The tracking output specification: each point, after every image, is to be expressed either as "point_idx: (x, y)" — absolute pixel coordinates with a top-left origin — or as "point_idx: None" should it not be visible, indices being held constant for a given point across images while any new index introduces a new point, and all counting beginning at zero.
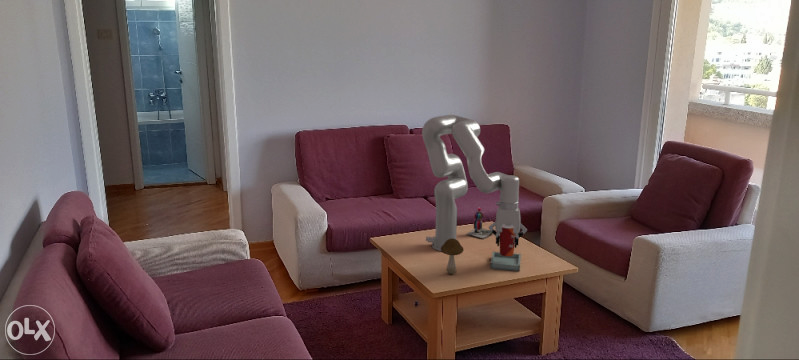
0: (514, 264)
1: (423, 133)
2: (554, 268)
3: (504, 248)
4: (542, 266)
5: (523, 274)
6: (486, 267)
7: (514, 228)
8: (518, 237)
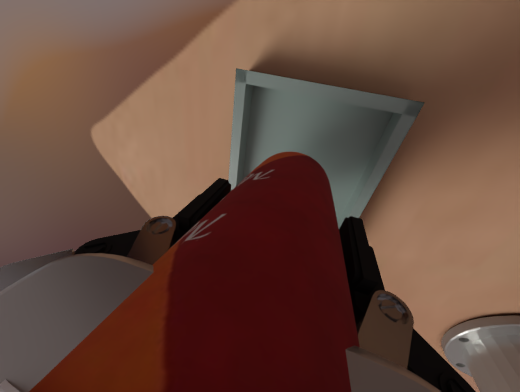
0: (262, 143)
1: None
2: (125, 123)
3: (310, 174)
4: (163, 142)
5: (232, 23)
6: (424, 120)
7: (30, 359)
8: (153, 224)
